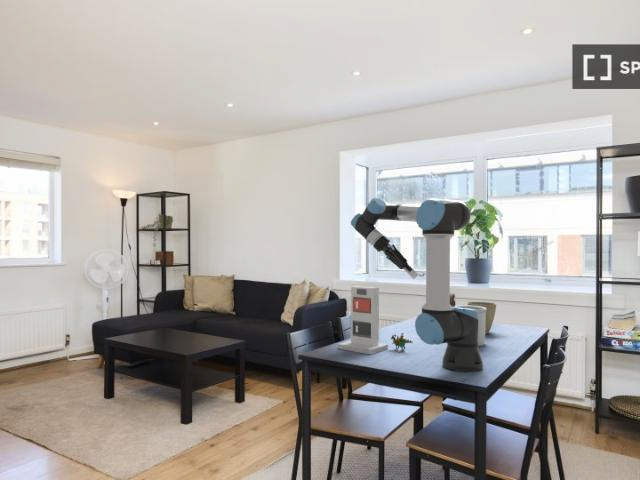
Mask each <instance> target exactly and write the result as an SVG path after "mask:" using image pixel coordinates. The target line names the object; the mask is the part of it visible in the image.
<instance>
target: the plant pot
mask: <svg viewBox="0 0 640 480" xmlns="http://www.w3.org/2000/svg"><path fill="white" fill-rule="evenodd" d="M467 305H473V306H481V307H485V308H486V323H485V335H486V334H489V333H490V331H491V328H492V326H493V323H494V320H495V314H496V309H497V303H494V302H485V301H468V302H467Z"/></svg>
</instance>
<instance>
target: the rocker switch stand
mask: <svg viewBox="0 0 640 480" xmlns="http://www.w3.org/2000/svg"><path fill="white" fill-rule="evenodd" d="M353 299H365V300H371V311H359V310H353ZM379 317H380V287H378V286H377V287H376V286H363V285H362V286H361V285H353V286H350V340H347V341H344V342H339V343H337V349H340V350H345V351H349V352H355V353H361V354H366V355H374V354H376V353H380V352H383V351H386V350H388V349H389V344H385V343H381V342H380V340H379V339H380V335H379V334H380V333H379V331H380V330H379V329H380V327H379V325H380V323H379V322H380V318H379ZM353 323H363V324H371V335H370V336H367V335H357V334H353Z"/></svg>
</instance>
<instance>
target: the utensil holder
mask: <svg viewBox="0 0 640 480" xmlns="http://www.w3.org/2000/svg"><path fill="white" fill-rule="evenodd" d="M454 307H461V308H468V309H474V310H476V311H477V312H478V319H479V321H478V347H482V346H484V345H486V344H485V343H486V334H485V323H486V308H485V307H481V306H473V305H468V304H465V305H464V304H463V305H462V304H460V305H455V306H454Z"/></svg>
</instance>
